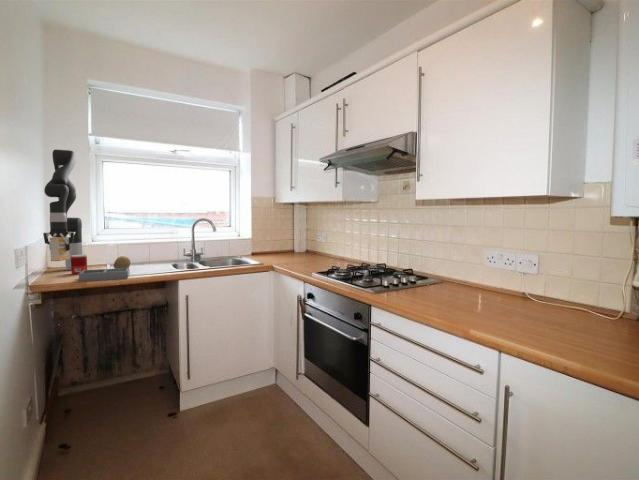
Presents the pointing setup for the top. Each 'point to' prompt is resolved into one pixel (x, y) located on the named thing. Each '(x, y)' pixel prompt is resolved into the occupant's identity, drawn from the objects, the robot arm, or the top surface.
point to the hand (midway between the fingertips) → (60, 251)
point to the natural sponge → (122, 262)
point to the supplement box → (58, 249)
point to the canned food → (78, 263)
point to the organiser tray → (103, 274)
